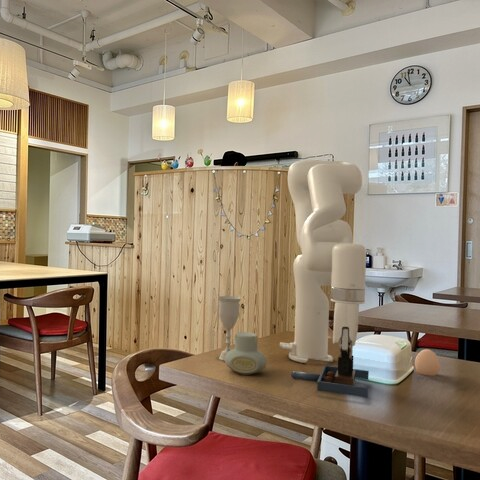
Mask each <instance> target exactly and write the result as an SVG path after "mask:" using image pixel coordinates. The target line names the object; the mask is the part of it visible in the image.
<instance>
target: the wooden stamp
mask: <svg viewBox="0 0 480 480" xmlns="http://www.w3.org/2000/svg"><path fill="white" fill-rule="evenodd" d="M335 383H337V384H344V385H351V386H356V385H355V384H356V378H355V370H353V372H352V376H347V375H340V374H338V370H337V372H336V375H335Z"/></svg>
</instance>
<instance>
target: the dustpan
mask: <svg viewBox="0 0 480 480" xmlns="http://www.w3.org/2000/svg"><path fill="white" fill-rule="evenodd" d="M337 370H338V366H334V365H323V367H322V370H321V373H320V374H319V373H311V372H310V373H309V372H304V371H297V370H295V371H292V372H291V374H290V376H291V379H293V381H294V380H295V381H297V380H302V381H308V382H317V387H316V388H317V389H316V390H317V391H318V392H326V393H333V394H339V395H345V396H353V397H359V398H364V399H365V398H369V394H368V393H369V387H366V386H365V387H364V386H358V385H357V386H356V385H354V386H351V385H344V384H337V383H329V382H322V381H323V378H324V377H325V375H326V373H327V372H330V371H332V372H334V373H335V374H336V372H337ZM353 370H355V379H361V380H367V381H368V380H369V378H370V377H369V376H370V375H369V374H370V371H369V370H365V369H357V368H353Z"/></svg>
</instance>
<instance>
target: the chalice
mask: <svg viewBox="0 0 480 480" xmlns="http://www.w3.org/2000/svg"><path fill="white" fill-rule="evenodd" d="M217 299H218V317H219V319H220V322H221V324H222V327H223V328H224V329H225V330H226V334H225V339H226V340H225V341H224V343H225V345H226V347H225V349H224V350H222V351H221V352H220V354H219V355H220V356H219V357H218V360H220V361H224V362H225V356H226V354H227V353H228V352H229V351H230V350H232V349H231V348H230V346H231V343H232V342H231V340H230V339H231V337H232V335H231V330H232V329H234V327H235V326H236V323H237V321H238V319H239V316H240V302H241V299H242V297H241V296H233V295H220V296H217Z"/></svg>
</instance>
